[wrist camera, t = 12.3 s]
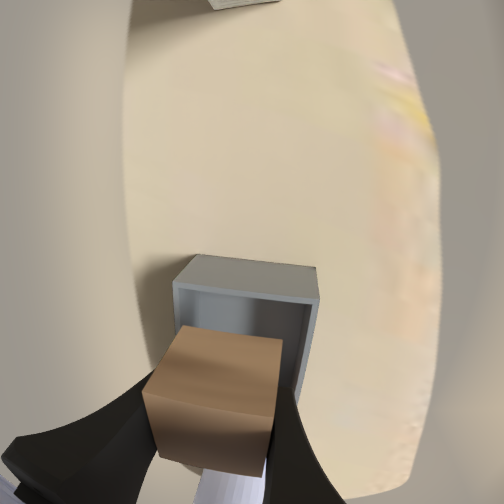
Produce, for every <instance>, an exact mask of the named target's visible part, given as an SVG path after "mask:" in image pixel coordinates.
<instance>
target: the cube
mask: <svg viewBox="0 0 504 504" xmlns="http://www.w3.org/2000/svg"><path fill="white" fill-rule="evenodd" d="M282 342H283V340H282V339H274V338H265V337H257V336H250V335H242V334H235V333H228V332H221V331H215V330H209V329H203V328H197V327H191V326H185V325H183V326H182V327H181V329H180V331H179V332H178V334H177V335H176V337H175V338H174V340H173V342H172V343H171V345H170V346H169V348H168V350H167V351H166V353H165V355H164V356H163V358H162V359H161V361H160V363H159V364H158V366H157V367H156V369H155V371H154V372H153V374H152V376H151V377H150V379H149V380H148V382H147V384H146V385H145V387H144V389H143V390H142V395H143V399H144V403H145V407H146V411H147V415H148V418H149V422H150V426H151V429H152V433H153V436H154V440H155V443H156V447H157V450H158V453H159V456H160V457H161V458H165V459H168V460H172V461H176V462H179V463H183V464H187V465H191V466H196V467H200V468H205V469H209V470H214V471H220V472H225V473H231V474H237V475H243V476H250V477H258V478H262V475H263V470H264V465H265V460H266V456H267V451H268V446H269V441H270V436H271V430H272V425H273V420H274V413H275V405H276V397H277V388H278V379H279V370H280V361H281V352H282Z"/></svg>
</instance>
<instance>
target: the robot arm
mask: <svg viewBox="0 0 504 504" xmlns="http://www.w3.org/2000/svg"><path fill="white" fill-rule="evenodd" d="M154 371H155V369H154V370H153V371H152V372H151V373H149V374H148V375H147V376H146V377H145V378H143V379H142V380H141V381H139V382H138V383H137V384H136V385H134V386H133V387H132V388H130V389H129V390H128V391H126V392H125V393H124V394H122V395H121V396H119V397H118V398H117V399H115V400H114V401H112V402H111V403H109V404H107V405H106V406H104V407H103V408H101V409H99V410H98V411H96V412H94V413H92V414H90V415H88V416H86V417H85V418H82V419H80V420H77V421H75V422H73V423H70V424H68V425H65V426H62V427H59V428H56V429H53V430H50V431H46V432H42V433H37V434H32V435H26V436H20V437H16V438H15V439H14V441H13V442H12V443H11V444H10V445H9V447H8V448H7V449H6V451H5V452H4V453H3V454H2V456H1V459H2V461H3V463H4V464H5V465H6V466H7V467H8V469H9V470H10V471H11V472H12V473H13V474H14V475H15V476H16V477H17V478H18V479H19V481H20V482H21V483H20V484H19V486H18V487H15V486H14V485H13V484H12V483H10V482H9V481H8V480H6V479H5V478H4V477H3V476H2V475H0V504H136V502H137V498H138V495H139V492H140V489H141V486H142V483H143V481H144V477H145V475H146V472H147V470H148V467H149V465H150V463H151V461H152V459H153V457H154V455H155V453H156V451H157V447H156V443H155V440H154V436H153V433H152V429H151V426H150V422H149V418H148V415H147V411H146V407H145V403H144V399H143V395H142V390H143V389H144V387H145V385H146V384H147V382H148V380H149V379H150V377H151V376H152V374H153V372H154ZM203 469H204V470H203V473H202V476H201V479H200V482H199V486H198V489H197V492H196V495H195V498H194V501H193V504H346V503H345V501H344V500H343V499H342V498H341V496H340V495H339V494H338V492H337V491H336V489H335V488H334V487H333V485H332V484H331V482H330V481H329V479H328V478H327V476H326V474H325V473H324V471H323V469H322V468H321V466H320V464H319V462H318V460H317V458H316V456H315V454H314V452H313V450H312V448H311V445H310V443H309V441H308V438H307V436H306V433H305V431H304V428H303V425H302V422H301V419H300V416H299V412H298V409H297V405H296V400H295V394H294V389H293V388H290V387H281V386H278V388H277V397H276V405H275V413H274V420H273V425H272V430H271V436H270V441H269V446H268V451H267V456H266V460H265V465H264V470H263V475H262V478H258V477H250V476H243V475H237V474H231V473H225V472H220V471H214V470H209V469H205V468H203Z"/></svg>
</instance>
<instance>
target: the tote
mask: <svg viewBox="0 0 504 504" xmlns="http://www.w3.org/2000/svg"><path fill="white" fill-rule="evenodd" d="M172 284H173V304H174V320H175V334H176V335H177V334H178V332H179V331H180V329H181V327H182V326H183V325H185V326H191V327H197V328H203V329H209V330H215V331H221V332H228V333H235V334H242V335H250V336H257V337H265V338H274V339H282V340H283V342H282V352H281V361H280V370H279V379H278V386H281V387H290V388H293V389H294V394H295V400H296V405H297V404H298V400H299V396H300V392H301V388H302V384H303V379H304V375H305V371H306V366H307V362H308V357H309V353H310V348H311V343H312V338H313V333H314V328H315V323H316V318H317V313H318V307H319V302H320V296H319V288H318V281H317V274H316V267H308V266H299V265H290V264H281V263H272V262H263V261H254V260H245V259H236V258H227V257H218V256H209V255H201V254H197V255H196V256H195V257H194V258H193V259H192V260H191V261H190V262H189V264H188V265H187V266H186V267H185V268H184V269H183V270H182V271H181V272H180V273H179V274H178V276H177V277H176V278H175V279H174V280H173V281H172Z"/></svg>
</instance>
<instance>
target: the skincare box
mask: <svg viewBox="0 0 504 504" xmlns="http://www.w3.org/2000/svg"><path fill="white" fill-rule="evenodd" d="M208 1H209V3H210V4H211V6H212V8H213V9H214V10H220V9H225V8H232V7H238V6H244V5H251V4H257V3H264V2H272V1H280V0H208Z"/></svg>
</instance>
